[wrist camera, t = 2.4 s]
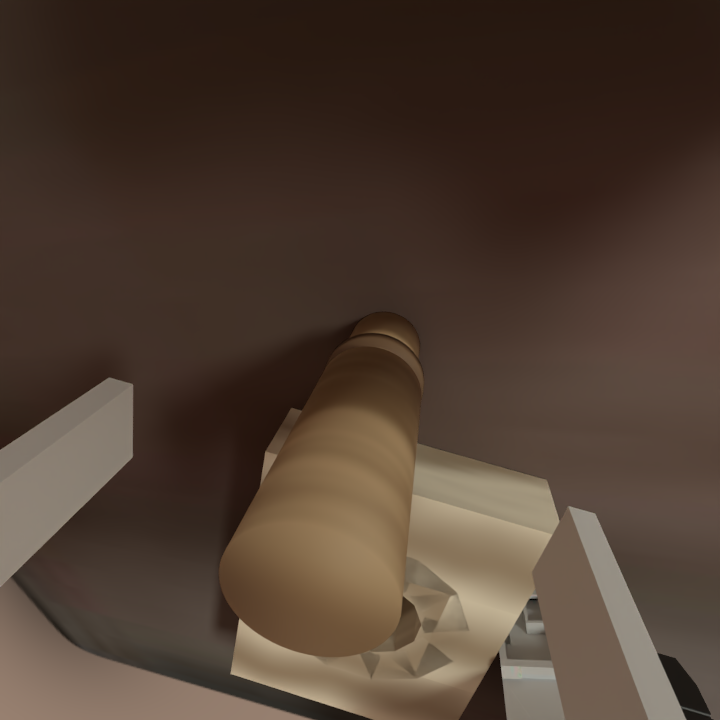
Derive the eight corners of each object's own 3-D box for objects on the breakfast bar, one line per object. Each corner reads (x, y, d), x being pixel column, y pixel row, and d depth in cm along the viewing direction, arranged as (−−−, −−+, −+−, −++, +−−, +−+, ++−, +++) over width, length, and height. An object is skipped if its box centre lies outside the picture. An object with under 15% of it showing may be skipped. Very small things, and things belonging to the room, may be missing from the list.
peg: (352, 295, 21) (224, 496, 9) (437, 317, 21) (428, 557, 9) (336, 370, 23) (210, 626, 11) (414, 391, 23) (378, 679, 10)
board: (291, 407, 25) (265, 451, 21) (546, 479, 24) (564, 537, 20) (254, 616, 33) (230, 673, 29) (445, 675, 32) (445, 742, 28)
